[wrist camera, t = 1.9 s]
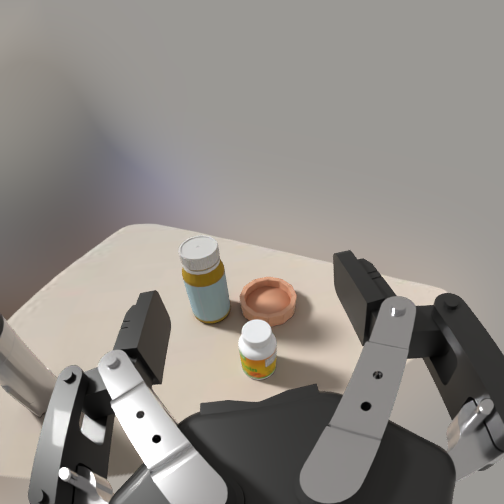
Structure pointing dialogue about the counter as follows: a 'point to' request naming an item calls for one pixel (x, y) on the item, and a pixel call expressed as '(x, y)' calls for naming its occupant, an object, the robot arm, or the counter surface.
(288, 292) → the terracotta dish
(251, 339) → the supplement bottle
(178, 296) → the counter surface
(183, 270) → the bottle
